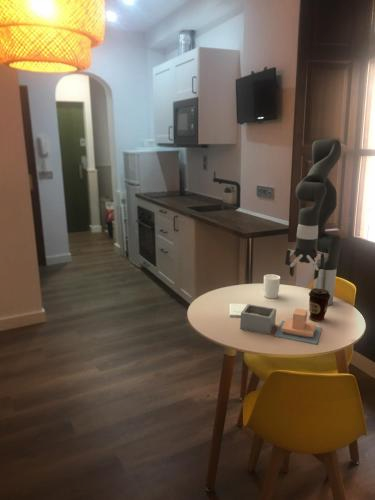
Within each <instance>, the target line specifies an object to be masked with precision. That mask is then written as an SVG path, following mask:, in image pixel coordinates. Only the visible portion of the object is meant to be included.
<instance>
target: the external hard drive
mask: <svg viewBox="0 0 375 500" xmlns="http://www.w3.org/2000/svg"><path fill="white" fill-rule="evenodd" d="M247 304H248V303H229V305H230V306H229V317H231V318H241V312H242V311H243V310H244V308H245V307H246V306H247Z"/></svg>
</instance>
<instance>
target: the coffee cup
mask: <svg viewBox="0 0 375 500" xmlns="http://www.w3.org/2000/svg"><path fill="white" fill-rule="evenodd" d="M308 296H309V298H308V299H309V300H308V304H309V305H308V306H309V309H308V310H309V311H308V312H309V314H310V315H309V319H310V320H311V321H313V322H316V323H317V322H318V323H323V322H325V316H326V314H327V310H328V307H329V305H328V301H329V299H330V294H329V292H328V291H327V290H324V289H318V288H314V287H313V288H312V289H310V291H309V293H308Z"/></svg>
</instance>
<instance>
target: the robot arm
mask: <svg viewBox="0 0 375 500" xmlns="http://www.w3.org/2000/svg"><path fill="white" fill-rule="evenodd" d="M311 147H312V148H311V159H312V166H311V167H310V169H309V171H308V174H307V175H306V176H305V177H304V178H302V180H301V181H299V182H298V184H297V186H296V188H295V198H296V199H298V201H300V202H310V203H314V204H313V205H311V206H307V207H302V208H301V209H299V212H298V225H297V228H296V229H297V230H296V241H295V249H291V248H288V249H287V250H286V253H285V254H286V255H285V261H284V262H285V263H284V265H286V266H289V275H290V276H291V277H294V276H295V265H296V264H297V263H298V262H299V263H304V264H305V263H306V264H309V263H310V264H311V265H312V267H313V269H314V274H313V280H314V281H313V282H314V283H313V288H318V289H324V290H327V291H328V292H329V294H330V299H329V301H328V306H331V305H334V304H333V303H334V296H335V289H336V288H335V286H336V277H337V270H338V269H337V268H338V263H339V259H340V252H341V246H342V238H341V236H340V235H339V234H338V233H337V234H336V233H331V232H326V226H327V225H326V224H327V222H328V221H329V219H330V217H332V215H333V213H334V212H335V210H336V209H337V205H338V204H337V203H338V199H337V197H338V195H337V190H336V187H335V186H334V184H333V183H332V181H331V180H330V178H328V176H329V174H330V172H331V171H332V169H334V167H335V166H336V165H337V163H338V162H339V160H340V157H341V154H342V153H341V152H342V143H341V142H340V140H338V139H336V138H335V139H333V138H332V139H317V140H314V141H313V143H312V145H311ZM293 254H294V256H295V258H294V260H292V261H290V260H291V256H293ZM326 254H327V257H326ZM317 257H318V259H317V260H316V258H317Z"/></svg>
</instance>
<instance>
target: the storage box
mask: <svg viewBox="0 0 375 500" xmlns="http://www.w3.org/2000/svg"><path fill="white" fill-rule="evenodd" d="M246 304H247V306H246V307H245V308H244V310H243V311H242V312H241V317H240V323H239V329H240V330H244V331H249V332H254V333H259V334H264V335H269V336H270V335H271V333H272V331H273V329H274V327H275V326H276V319H277V318H276V316H277V308H273V307H267V306H261V305H255V304H251V303H250V304H249V303H246Z"/></svg>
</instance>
